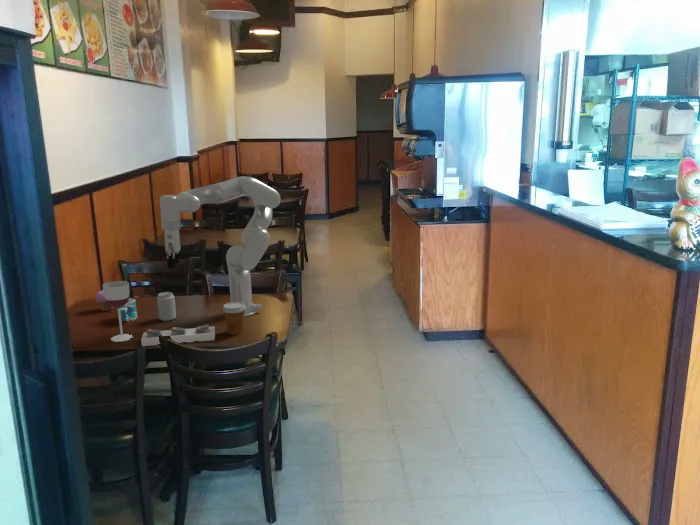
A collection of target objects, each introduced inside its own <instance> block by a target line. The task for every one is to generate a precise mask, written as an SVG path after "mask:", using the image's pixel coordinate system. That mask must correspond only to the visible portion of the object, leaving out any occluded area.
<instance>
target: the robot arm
mask: <svg viewBox="0 0 700 525" xmlns="http://www.w3.org/2000/svg"><path fill="white" fill-rule="evenodd" d="M241 197H248V198H251V199H252V201H253V205H254V211H253V214H252V217H251V218H250V220H249V221H248V223H247V224H246V226H245V228H244V229H243V230H242V232H241V235H240V240H241V242H242V243H243V244H244V245H245V246H243V245H232V246H231V247H229V249H228V250H227V251H226V256H225V260H226V266H227V271H228V282H229V292H230V303H231V302H242V303H244V305H245V306H246V308H245V315H244V318H246V316H247V317H250V315H251V316H253V315H255V314H256V313H257V310H258V309H259V310H260V309H261V310H262V309H263V304H260V303H254V301H253V300H252V299H253V297H252V282H251V281H252V280H251V279H252V278H251V270H253V269H254V268H256V266H257V265H258V264H259V263H260V261H261V259H262V258H263V256H264V254H265V252H266V251H267V250H268V248H269V246H270V242H271V235H270V233H269V232H268V228H269V226H270V224H271V223H272V220H273V209H275V208H277V207H278V206H280V203H281V199H282V198H281V194H280V193H279V192H278V191H277V190H276V189H274V188H273V187H271V186H268V185H267V184H265V183H264V182H262V181H260V180H258V179H257V178H255V177H252V176H251V177H250V176H244V175H243V176H238V177H234V178H231V179H227V180H224V181H221V182H217V183H214V184H213V183H212V184H208V185H205V186H201V187H195V188H193V189H192V188H191V189H188V190H186V191H184V190H183V191H182V192H180V193H178V194H177V195H176V194H165V195H161V196H160V198H159V200H160V201H159V204H160V206H159V207H160V221H161V222H160V223H161V230H164V247H165V253H166V255H167V256H166V265H167V269H175V268H176V264H179V262H180V261H179V260H180V259H179V257H180V256H179V252H180V251H181V239H180V237H181V236H180V229H181V213H189V214H190V213H194V212H197V211H199V209H200V206H201V205H207V204H223V203H225V202H228V201H231V200H235V199H238V198H241ZM256 309H257V310H256Z"/></svg>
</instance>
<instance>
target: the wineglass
mask: <svg viewBox="0 0 700 525" xmlns="http://www.w3.org/2000/svg"><path fill="white" fill-rule="evenodd" d="M102 290H103V291H104V295H105V298H106V301H107V303H108V304H109V305H111V306H113V308H115V309H117V308H118V310H117V317H118V316H119V319H118V324H119V334H117V335H114V336H112V337H111V338H110V340H111V341H112V342H115V343H118V342H126V341H129V340H131V339H130V338H132V339H133V338H134V336H133V337H132V335H133V334H131V335H129V334H130V333H124V331H123V322H122V321H121V314H120V307H122V306H124V305H125V304H126V303H127V302H128V300H129V299H130V282H129V281H126V280H115V281H109V282H106V283H103V284H102Z"/></svg>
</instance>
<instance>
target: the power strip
mask: <svg viewBox="0 0 700 525" xmlns="http://www.w3.org/2000/svg"><path fill="white" fill-rule="evenodd" d="M215 330H216V327H215V326H209V329H206V330H203V331H199V332H196V327H194V328H185V332H184V333H177V332H171V331H172V329H169V330H161V333H160V335H162V336H170V337H171V339H172V340H173V341H175V342H177V343H176V344H183V343H182V342H187V343H195V342H194V341H199V342H207V341H209V342H211V341H215V340H216V339H215V338H216V331H215ZM146 333H147V331H145V332H143V334H142V336H141V339H140V342H141V347H149V346H150V347H151V346H152V347H153V346H159V345H158V344H160V342H159V336H160V335H152V334H146Z"/></svg>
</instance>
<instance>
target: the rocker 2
mask: <svg viewBox="0 0 700 525" xmlns="http://www.w3.org/2000/svg"><path fill="white" fill-rule="evenodd" d="M209 327H210V324H209V323H207V324H203V325H201V326H197V327H195V328H196V332H199V331H203V330H206V329H209Z"/></svg>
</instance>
